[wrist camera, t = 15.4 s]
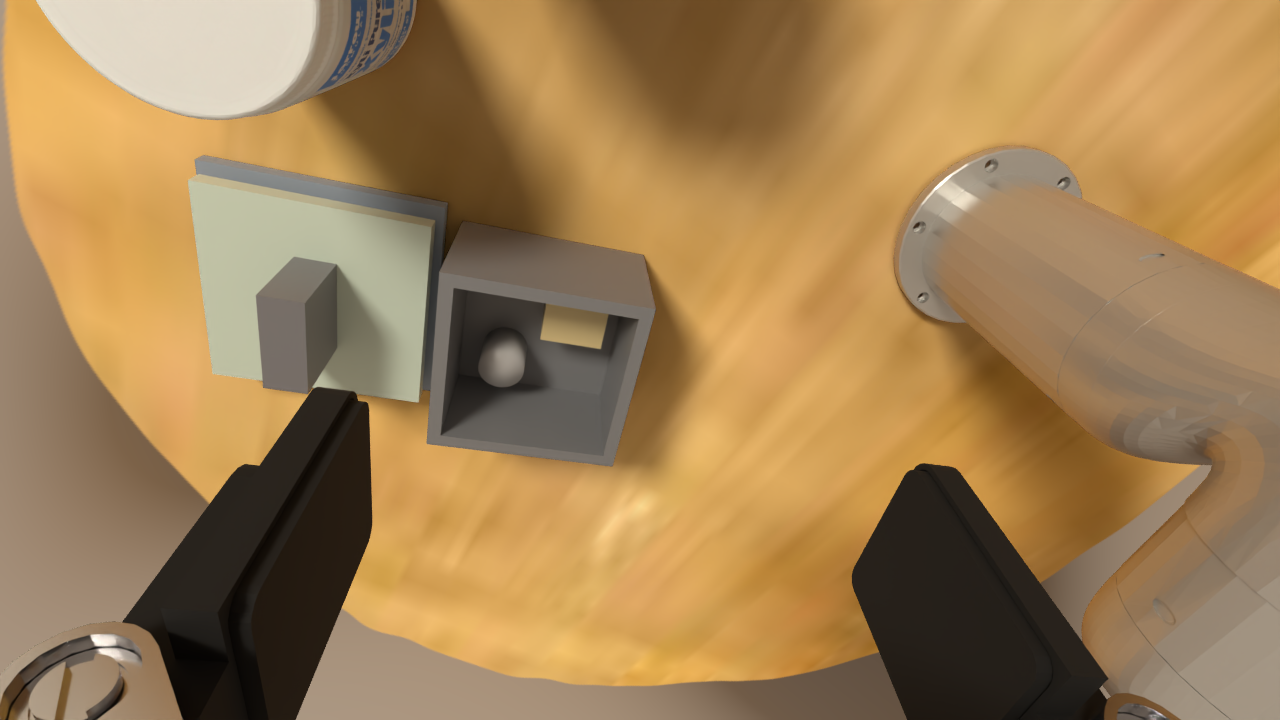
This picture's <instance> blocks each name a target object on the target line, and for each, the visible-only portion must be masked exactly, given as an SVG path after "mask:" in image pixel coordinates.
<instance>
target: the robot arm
mask: <svg viewBox="0 0 1280 720" xmlns="http://www.w3.org/2000/svg"><path fill="white" fill-rule="evenodd" d="M894 267H895V274H896V277H897V281H898V284H899V286H900V288H901V290H902V291H903V293H904V294H905V296H906V297H907V299H908V300H909V301H910V302H911V303H912V304H913V305H914V306H915V307H916V308H918V309H919V310H920V311H922V312H923V313H924V314H926V315H928V316H930V317H933V318H935V319H937V320H940V321H946V322H951V323H968V324H969V325H970V326H971V327H972V328H973V329H974V330H976V331H977V332H978V333H979V334H980V335H981V336H982V337H983V338H984V339H985V340H986V341H988V342H989V343H990V344H991V345H992V346H993V347H994V348H995V349H996V350H997V351H998V352H1000V353H1001V354H1002V355H1003V356H1004V357H1005V358H1006V359H1007V360H1008V361H1009V362H1011V363H1012V364H1013V365H1014V366H1015V367H1016V368H1017V369H1018V370H1019V371H1020V372H1021V373H1023V374H1024V375H1025V376H1026V377H1027V378H1028V379H1029V380H1030V381H1031V382H1032V383H1033V384H1035V385H1036V386H1037V387H1038V388H1039V389H1040V390H1041V391H1042V392H1043V393H1044V394H1046V395H1047V396H1048V397H1049V398H1050V399H1051V400H1052V401H1053V402H1054V403H1056V404H1057V405H1058V406H1059V407H1060V408H1061V409H1062V410H1063V411H1064V412H1065V413H1066V414H1067V415H1069V416H1070V417H1071V418H1072V419H1073V420H1074V421H1076V422H1077V423H1078V424H1079V425H1080V426H1081V427H1082V428H1083V429H1084V430H1086V431H1087V432H1088V433H1089V434H1091V435H1092V436H1093V437H1095V438H1096V439H1097V440H1099V441H1101V442H1103V443H1104V444H1106V445H1108V446H1109V447H1111V448H1114V449H1116V450H1119V451H1121V452H1124V453H1126V454H1129V455H1132V456H1135V457H1139V458H1144V459H1149V460H1154V461H1160V462H1169V463H1179V464H1194V465H1212V467H1211V471H1210V472H1209V474H1208V476H1207V477H1206V479H1205V480H1204V481H1203V482H1202V483H1201V484H1200V485H1199V486H1198V488H1197V489H1196V490H1195V491H1194V492H1193V493H1192V494H1191V495H1190V496H1189V497H1188V498H1187V499H1186V501H1185V503H1184V505H1182V506H1181V507H1180V508H1179V509H1178V510H1177V512H1175V513H1174V514H1173V515H1172V516H1171V517H1170V518H1169V519H1168V520H1167V521H1166V522H1165V523H1164V524H1163V525H1162V526H1161V527H1160V528H1159V529H1158V530H1157V531H1156V532H1155V533H1154V534H1153V535H1152V536H1151V537H1150V538H1149V539H1148V540H1147V541H1146V542H1145V543H1144V544H1143V545H1142V546H1141V547H1140V548H1139V549H1138V550H1137V551H1136V552H1135V553H1134V554H1133V555H1132V556H1131V557H1130V558H1129V559H1128V560H1127V561H1126V562H1124V563H1123V564H1122V566H1121V567H1120V568H1119V569H1118V570H1117V571H1116V572H1115V573H1114V574H1113V575H1112V576H1111V577H1110V578H1109V579H1108V580H1107V581H1106V582H1105V584H1104V585H1103V586H1102V587H1101V588H1100V589H1099V591H1098V592H1097V593H1096V594H1095V596H1094V597H1093V599H1092V600H1091V602H1090V603H1089V605H1088V607H1087V609H1086V611H1085V614H1084V617H1083V622H1082V641H1081V640H1080V638H1079V637H1078V635H1077V634H1076V633H1075V632H1074V630H1073V628H1072V627H1071V626H1070V624H1069V623H1068V622H1067V620H1066V619H1065V617H1064V616H1063V615H1062V613H1061V612H1060V610H1059V609H1058V608H1057V606H1056V605H1055V604H1054V602H1053V601H1052V599H1051V598H1050V597H1049V595H1048V594H1047V592H1046V591H1045V590H1044V588H1043V587H1042V586H1041V584H1040V583H1039V581H1038V580H1037V579H1036V577H1035V576H1034V574H1033V573H1032V572H1031V570H1030V569H1029V568H1028V566H1027V565H1026V563H1025V562H1024V561H1023V559H1022V558H1021V556H1020V555H1019V554H1018V552H1017V551H1016V550H1015V548H1014V547H1013V545H1012V544H1011V543H1010V541H1009V540H1008V538H1007V537H1006V536H1005V534H1004V533H1003V532H1002V530H1001V529H1000V527H999V526H998V525H997V523H996V522H995V520H994V519H993V518H992V516H991V515H990V514H989V512H988V511H987V509H986V508H985V507H984V505H983V504H982V502H981V501H980V500H979V498H978V497H977V496H976V494H975V493H974V491H973V490H972V489H971V487H970V486H969V484H968V483H967V482H966V480H965V479H964V478H963V476H962V475H961V473H960V472H959V471H958V470H957V469H956V468H953V467H949V466H941V465H933V464H925V463H924V464H919V465H918V466H916V467H915V469H914V470H910V471H908V472H907V473H906V475H905V476H904V478H903V480H902V481H901V483H900V485H899V487H898V489H897V490H896V492H895V494H894V496H893V498H892V499H891V501H890V503H889V505H888V507H887V509H886V510H885V512H884V514H883V516H882V518H881V519H880V521H879V523H878V525H877V527H876V529H875V530H874V532H873V534H872V536H871V538H870V539H869V541H868V543H867V545H866V547H865V549H864V550H863V552H862V554H861V556H860V558H859V559H858V561H857V563H856V565H855V567H854V569H853V573H852V585H853V589H854V592H855V594H856V596H857V599H858V601H859V604H860V606H861V609H862V611H863V613H864V616H865V618H866V621H867V623H868V626H869V628H870V630H871V633H872V635H873V638H874V640H875V643H876V645H877V647H878V650H879V652H880V655H881V657H882V659H883V662H884V664H885V667H886V669H887V672H888V674H889V677H890V679H891V681H892V684H893V686H894V688H895V691H896V694H897V696H898V698H899V701H900V703H901V706H902V708H903V710H904V713H905V715H906V718H907V720H1280V289H1278V288H1276V287H1273V286H1271V285H1269V284H1267V283H1265V282H1262V281H1260V280H1258V279H1256V278H1254V277H1251V276H1249V275H1247V274H1245V273H1243V272H1240V271H1238V270H1236V269H1234V268H1231V267H1229V266H1226V265H1224V264H1222V263H1220V262H1218V261H1216V260H1213V259H1211V258H1209V257H1207V256H1205V255H1202V254H1200V253H1198V252H1196V251H1194V250H1192V249H1189V248H1187V247H1185V246H1183V245H1181V244H1179V243H1176V242H1174V241H1172V240H1170V239H1168V238H1165V237H1163V236H1161V235H1159V234H1157V233H1155V232H1152V231H1150V230H1148V229H1146V228H1144V227H1142V226H1139V225H1137V224H1135V223H1133V222H1131V221H1128V220H1126V219H1124V218H1122V217H1120V216H1118V215H1115V214H1113V213H1111V212H1109V211H1107V210H1105V209H1102V208H1100V207H1098V206H1096V205H1094V204H1092V203H1089V202H1087V201H1085V200H1083V199H1082V192H1081V189H1080V186H1079V184H1078V181H1077V179H1076V177H1075V175H1074V174H1073V173H1072V171H1071V170H1070V169H1069V167H1068V166H1067V165H1066V164H1064V163H1063V162H1062V161H1060V160H1059V159H1058V158H1056V157H1055V156H1053V155H1051V154H1048V153H1046V152H1044V151H1041V150H1038V149H1034V148H1030V147H1026V146H1002V147H996V148H990V149H987V150H984V151H981V152H978V153H976V154H973V155H970V156H968V157H966V158H965V159H963V160H961V161H959V162H957V163H955V164H954V165H952V166H951V167H949V168H948V169H947V170H945V171H944V172H943V173H941V174H940V175H939V176H937V177H936V178H935V179H934V180H933V181H932V182H931V183H930V184H929V185H928V186H927V187H926V188H925V189H924V190H923V191H922V192H921V194H920V195H919V196H918V198H917V199H916V200H915V202H914V203H913V205H912V206H911V207H910V209H909V211H908V213H907V215H906V217H905V219H904V220H903V222H902V224H901V227H900V230H899V233H898V236H897V240H896V244H895V252H894ZM371 529H372V494H371V460H370V427H369V406H368V403H367V402H362V401H358V399H357V395H356V393H355V392H354V391H348V390H340V389H332V388H324V387H316V388H314V389H313V390H312V391H311V393H310V394H309V395H308V397H307V398H306V400H305V401H304V403H303V404H302V406H301V407H300V408H299V410H298V411H297V413H296V414H295V416H294V417H293V418H292V420H291V421H290V423H289V424H288V426H287V427H286V428H285V430H284V431H283V433H282V434H281V436H280V437H279V438H278V440H277V441H276V443H275V444H274V446H273V447H272V449H271V450H270V451H269V453H268V454H267V456H266V457H265V459H264V460H263V461H262V463H261V464H260V466H257V465H248V464H244V465H242V466H240V467H238V468H237V469H236V471H235V472H234V473H233V474H232V475H231V476H230V477H229V479H228V480H227V481H226V483H225V484H224V485H223V487H222V488H221V490H220V491H219V492H218V494H217V495H216V496H215V498H214V499H213V500H212V502H211V503H210V504H209V506H208V507H207V508H206V510H205V511H204V512H203V514H202V515H201V516H200V518H199V519H198V521H197V522H196V523H195V525H194V526H193V527H192V529H191V530H190V531H189V533H188V534H187V535H186V537H185V538H184V539H183V541H182V542H181V543H180V545H179V546H178V548H177V549H176V550H175V552H174V553H173V554H172V556H171V557H170V558H169V560H168V561H167V563H166V564H165V565H164V566H163V568H162V569H161V571H160V572H159V573H158V575H157V576H156V577H155V579H154V580H153V581H152V583H151V584H150V585H149V587H148V588H147V590H146V591H145V592H144V594H143V595H142V596H141V598H140V599H139V600H138V602H137V603H136V604H135V606H134V607H133V608H132V610H131V611H130V612H129V614H128V615H127V617H126V618H125V619H124V620H123V622H122V623H121V622H115V621H113V622H103V623H93V624H88V625H84V626H81V627H77V628H74V629H71V630H68V631H64V632H62V633H60V634H58V635H56V636H54V637H51V638H49V639H47V640H45V641H43V642H41V643H39V644H37V645H35V646H34V647H33V648H31V649H30V650H28V651H27V652H26V653H24V654H23V655H21V656H20V657H19V658H17V659H16V660H15V661H13V662H12V663H11V664H10V665H9V666H8V667H7V668H6V669H5V670H4V671H3V672H2V673H1V674H0V720H296V717H297V715H298V712H299V710H300V708H301V705H302V702H303V700H304V698H305V696H306V693H307V691H308V688H309V686H310V683H311V681H312V678H313V676H314V673H315V671H316V669H317V666H318V664H319V661H320V659H321V657H322V654H323V652H324V649H325V647H326V644H327V642H328V640H329V637H330V635H331V632H332V630H333V627H334V625H335V622H336V620H337V617H338V615H339V613H340V610H341V608H342V605H343V603H344V601H345V598H346V596H347V593H348V591H349V588H350V586H351V584H352V581H353V579H354V576H355V574H356V571H357V569H358V567H359V564H360V562H361V559H362V557H363V554H364V552H365V549H366V547H367V544H368V542H369V538H370V534H371ZM1102 685H1103V687H1104V688H1105V689H1106V691H1107V692H1108V693H1109V695H1110V696H1111V697H1110V698H1108V699H1106V698H1105V696H1104V695H1103V694H1102V692H1101V691H1100V689H1099V688H1100V687H1101V686H1102Z"/></svg>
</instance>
